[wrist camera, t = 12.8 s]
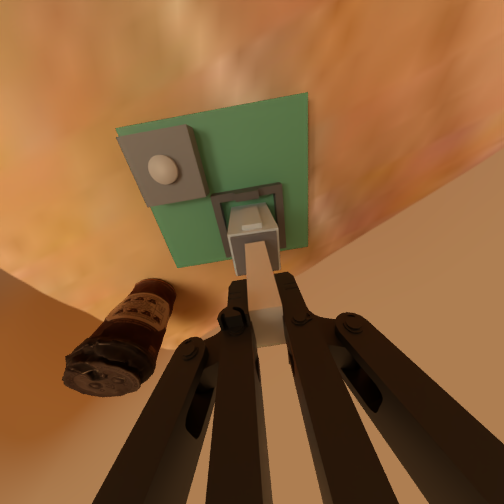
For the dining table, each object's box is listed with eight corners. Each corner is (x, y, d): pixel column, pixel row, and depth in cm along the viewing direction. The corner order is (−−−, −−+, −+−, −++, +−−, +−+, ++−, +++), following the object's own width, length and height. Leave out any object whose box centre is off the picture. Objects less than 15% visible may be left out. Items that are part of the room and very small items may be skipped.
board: (127, 130, 18) (92, 123, 14) (301, 97, 18) (321, 80, 14) (181, 260, 26) (170, 282, 22) (303, 240, 26) (316, 258, 21)
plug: (230, 203, 21) (225, 231, 13) (265, 198, 21) (278, 224, 13) (237, 237, 23) (236, 278, 16) (268, 233, 23) (281, 271, 16)
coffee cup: (130, 263, 26) (46, 349, 15) (188, 278, 28) (153, 365, 17) (126, 304, 30) (56, 399, 18) (177, 315, 32) (142, 407, 20)
